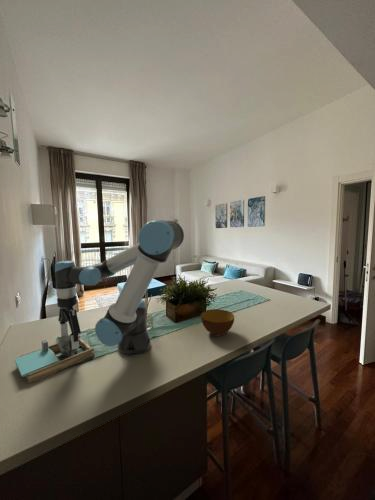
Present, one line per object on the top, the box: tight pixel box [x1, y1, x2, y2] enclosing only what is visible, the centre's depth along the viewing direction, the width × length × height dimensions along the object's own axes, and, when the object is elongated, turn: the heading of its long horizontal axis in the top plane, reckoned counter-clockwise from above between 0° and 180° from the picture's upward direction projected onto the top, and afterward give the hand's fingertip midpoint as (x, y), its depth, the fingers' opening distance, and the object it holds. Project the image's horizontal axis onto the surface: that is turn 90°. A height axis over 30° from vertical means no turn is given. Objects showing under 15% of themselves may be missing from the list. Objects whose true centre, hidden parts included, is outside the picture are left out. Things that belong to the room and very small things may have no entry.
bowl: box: [200, 308, 235, 337], centre depth 117 cm, size 18×18×10 cm
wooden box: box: [18, 335, 95, 384], centre depth 94 cm, size 17×24×3 cm
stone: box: [57, 334, 78, 358], centre depth 98 cm, size 10×10×10 cm
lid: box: [14, 339, 59, 378], centre depth 88 cm, size 15×12×5 cm
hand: (69, 342), depth 98 cm, fingers open, 13 cm apart
